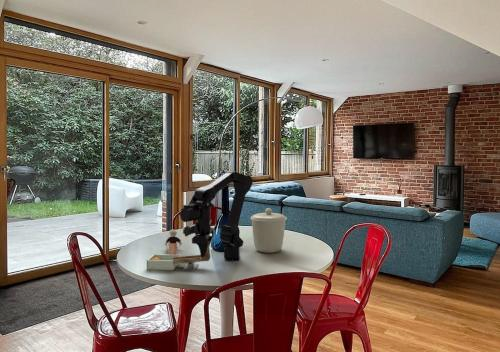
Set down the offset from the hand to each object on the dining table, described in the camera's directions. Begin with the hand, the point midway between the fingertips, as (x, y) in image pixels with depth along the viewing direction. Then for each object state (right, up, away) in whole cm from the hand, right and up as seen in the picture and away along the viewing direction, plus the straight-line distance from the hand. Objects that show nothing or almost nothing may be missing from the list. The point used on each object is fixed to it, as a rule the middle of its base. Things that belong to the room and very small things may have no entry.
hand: (204, 255), depth 157 cm
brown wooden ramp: (-6, -3, +1) cm, 6 cm away
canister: (+28, -4, +28) cm, 40 cm away
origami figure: (-20, -4, +30) cm, 36 cm away
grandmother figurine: (-17, -4, +18) cm, 24 cm away
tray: (-18, -5, +2) cm, 18 cm away
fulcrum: (-6, -5, +1) cm, 8 cm away
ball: (-21, -3, +2) cm, 21 cm away
